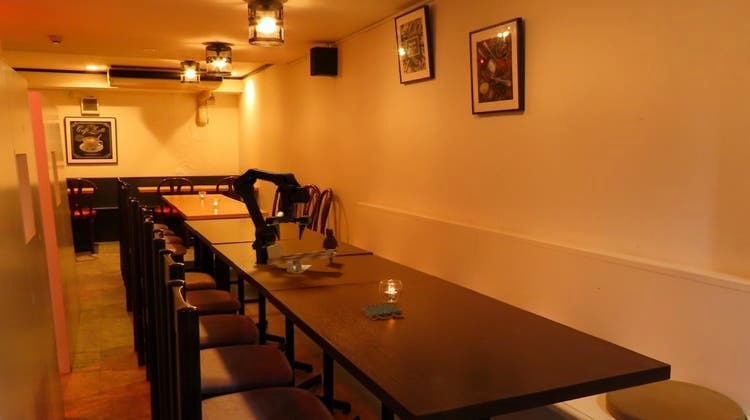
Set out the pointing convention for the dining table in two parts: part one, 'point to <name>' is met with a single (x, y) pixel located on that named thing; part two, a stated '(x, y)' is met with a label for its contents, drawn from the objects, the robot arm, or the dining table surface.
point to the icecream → (329, 241)
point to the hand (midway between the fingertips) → (289, 240)
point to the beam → (304, 256)
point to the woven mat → (382, 311)
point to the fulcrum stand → (297, 267)
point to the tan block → (275, 251)
